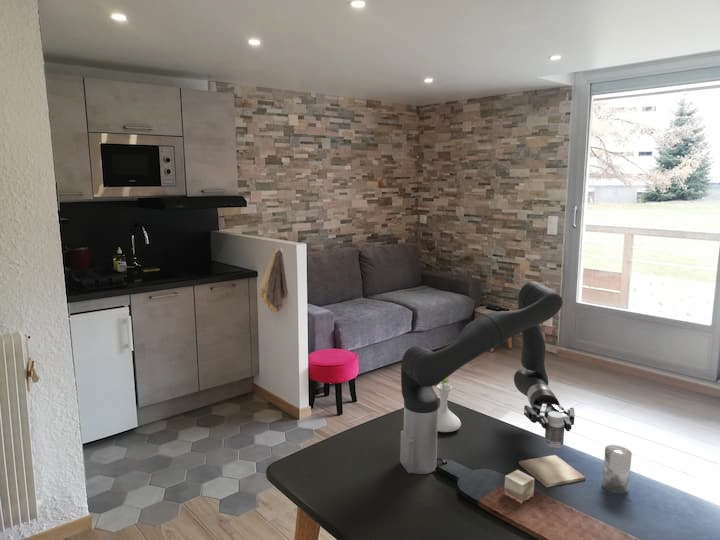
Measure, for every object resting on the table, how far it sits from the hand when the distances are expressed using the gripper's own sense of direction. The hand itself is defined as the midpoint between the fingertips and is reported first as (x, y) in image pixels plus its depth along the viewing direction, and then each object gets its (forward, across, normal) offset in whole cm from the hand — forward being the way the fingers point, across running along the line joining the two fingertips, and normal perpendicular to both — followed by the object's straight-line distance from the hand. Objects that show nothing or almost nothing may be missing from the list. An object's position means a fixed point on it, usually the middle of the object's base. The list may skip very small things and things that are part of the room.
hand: (557, 427), depth 134 cm
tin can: (+3, -14, -14) cm, 20 cm away
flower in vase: (-24, +29, -14) cm, 41 cm away
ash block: (+10, +11, -14) cm, 21 cm away
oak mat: (-2, 0, -14) cm, 14 cm away
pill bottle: (-3, 0, -6) cm, 7 cm away
